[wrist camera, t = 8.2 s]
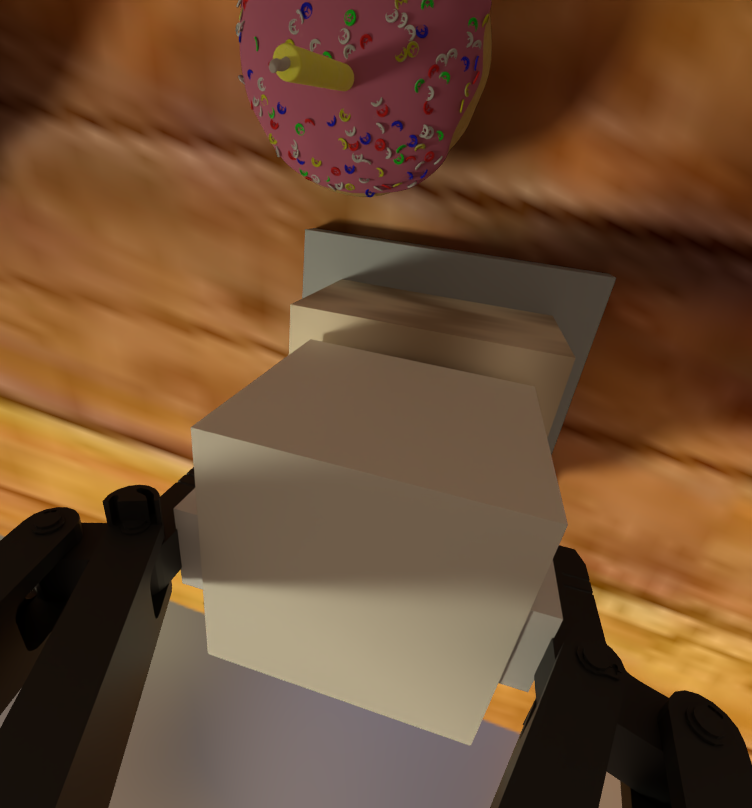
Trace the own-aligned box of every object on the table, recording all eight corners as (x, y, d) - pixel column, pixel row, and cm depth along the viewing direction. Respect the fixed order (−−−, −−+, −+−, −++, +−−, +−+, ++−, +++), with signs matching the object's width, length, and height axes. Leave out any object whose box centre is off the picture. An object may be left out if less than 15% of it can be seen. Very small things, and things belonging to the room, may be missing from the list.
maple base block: (327, 450, 25) (284, 515, 20) (341, 279, 21) (290, 304, 16) (497, 492, 24) (499, 574, 18) (552, 316, 19) (575, 358, 14)
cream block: (299, 508, 19) (207, 653, 13) (310, 338, 15) (190, 427, 9) (477, 558, 18) (470, 745, 12) (534, 386, 14) (567, 524, 8)
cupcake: (496, 180, 19) (502, 147, 8) (318, 213, 21) (141, 222, 10) (485, -86, 15) (470, -735, 5) (274, -10, 18) (-47, -328, 7)
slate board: (302, 459, 28) (295, 469, 26) (314, 228, 21) (305, 229, 20) (523, 515, 25) (524, 528, 24) (609, 273, 19) (616, 278, 18)
